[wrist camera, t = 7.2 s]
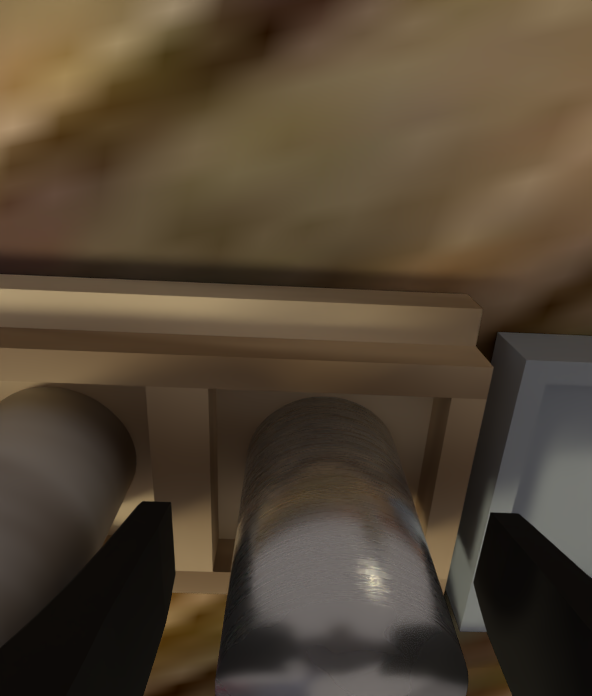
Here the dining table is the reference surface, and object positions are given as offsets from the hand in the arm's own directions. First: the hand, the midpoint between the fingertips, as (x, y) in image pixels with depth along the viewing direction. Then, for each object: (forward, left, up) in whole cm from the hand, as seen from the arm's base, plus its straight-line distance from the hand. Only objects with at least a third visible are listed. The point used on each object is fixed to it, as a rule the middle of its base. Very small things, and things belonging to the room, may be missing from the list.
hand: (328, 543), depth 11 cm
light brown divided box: (0, +3, -4) cm, 5 cm away
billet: (0, 0, -3) cm, 3 cm away
